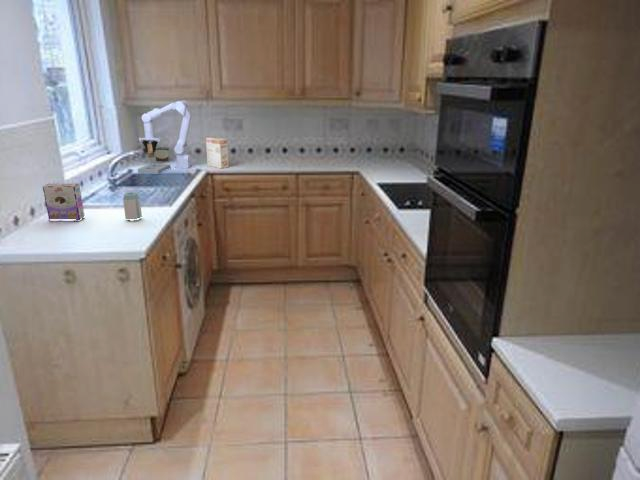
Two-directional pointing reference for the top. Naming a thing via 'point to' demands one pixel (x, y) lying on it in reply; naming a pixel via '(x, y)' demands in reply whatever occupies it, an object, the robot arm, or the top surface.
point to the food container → (162, 154)
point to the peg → (150, 150)
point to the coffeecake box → (217, 152)
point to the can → (132, 206)
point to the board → (153, 168)
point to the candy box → (63, 201)
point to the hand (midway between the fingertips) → (151, 151)
